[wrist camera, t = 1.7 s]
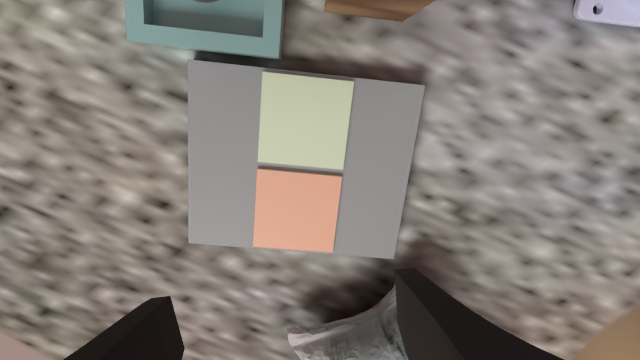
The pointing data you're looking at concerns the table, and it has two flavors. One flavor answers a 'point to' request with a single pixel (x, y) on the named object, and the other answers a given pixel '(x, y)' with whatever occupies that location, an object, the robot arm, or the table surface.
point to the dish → (209, 25)
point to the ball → (206, 1)
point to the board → (298, 159)
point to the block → (377, 8)
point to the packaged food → (353, 336)
